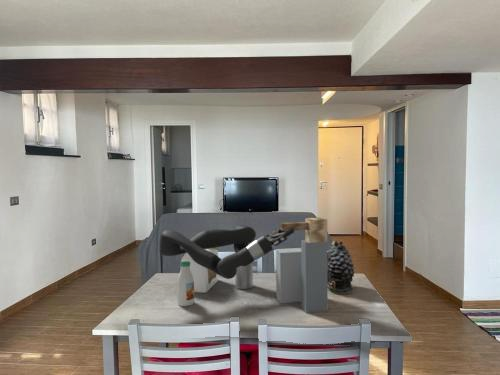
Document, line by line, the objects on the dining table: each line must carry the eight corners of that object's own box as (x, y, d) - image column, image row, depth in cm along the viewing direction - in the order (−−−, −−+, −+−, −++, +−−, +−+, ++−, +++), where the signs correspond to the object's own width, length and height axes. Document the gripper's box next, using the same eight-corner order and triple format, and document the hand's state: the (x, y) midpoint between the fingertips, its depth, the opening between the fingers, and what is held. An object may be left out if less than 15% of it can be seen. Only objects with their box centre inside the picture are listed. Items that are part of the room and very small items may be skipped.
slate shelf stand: (288, 314, 151) (287, 243, 149) (276, 297, 171) (275, 235, 170) (327, 311, 154) (327, 241, 152) (311, 294, 174) (310, 233, 173)
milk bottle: (180, 307, 159) (179, 265, 158) (175, 302, 166) (174, 261, 165) (196, 304, 163) (195, 262, 162) (191, 299, 170) (190, 259, 169)
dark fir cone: (319, 283, 192) (318, 238, 191) (345, 282, 193) (345, 237, 192) (331, 296, 171) (331, 246, 170) (360, 295, 172) (360, 245, 171)
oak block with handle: (283, 244, 149) (283, 220, 148) (279, 241, 155) (279, 219, 154) (327, 241, 152) (327, 219, 152) (322, 239, 158) (322, 217, 158)
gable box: (205, 293, 178) (204, 239, 177) (181, 291, 181) (180, 238, 180) (218, 279, 200) (217, 231, 199) (197, 278, 203) (196, 231, 202)
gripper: (258, 244, 143) (290, 223, 145) (252, 237, 157) (282, 218, 159) (267, 259, 144) (299, 238, 145) (260, 251, 158) (290, 232, 160)
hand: (290, 228), depth 152 cm, fingers open, 8 cm apart
